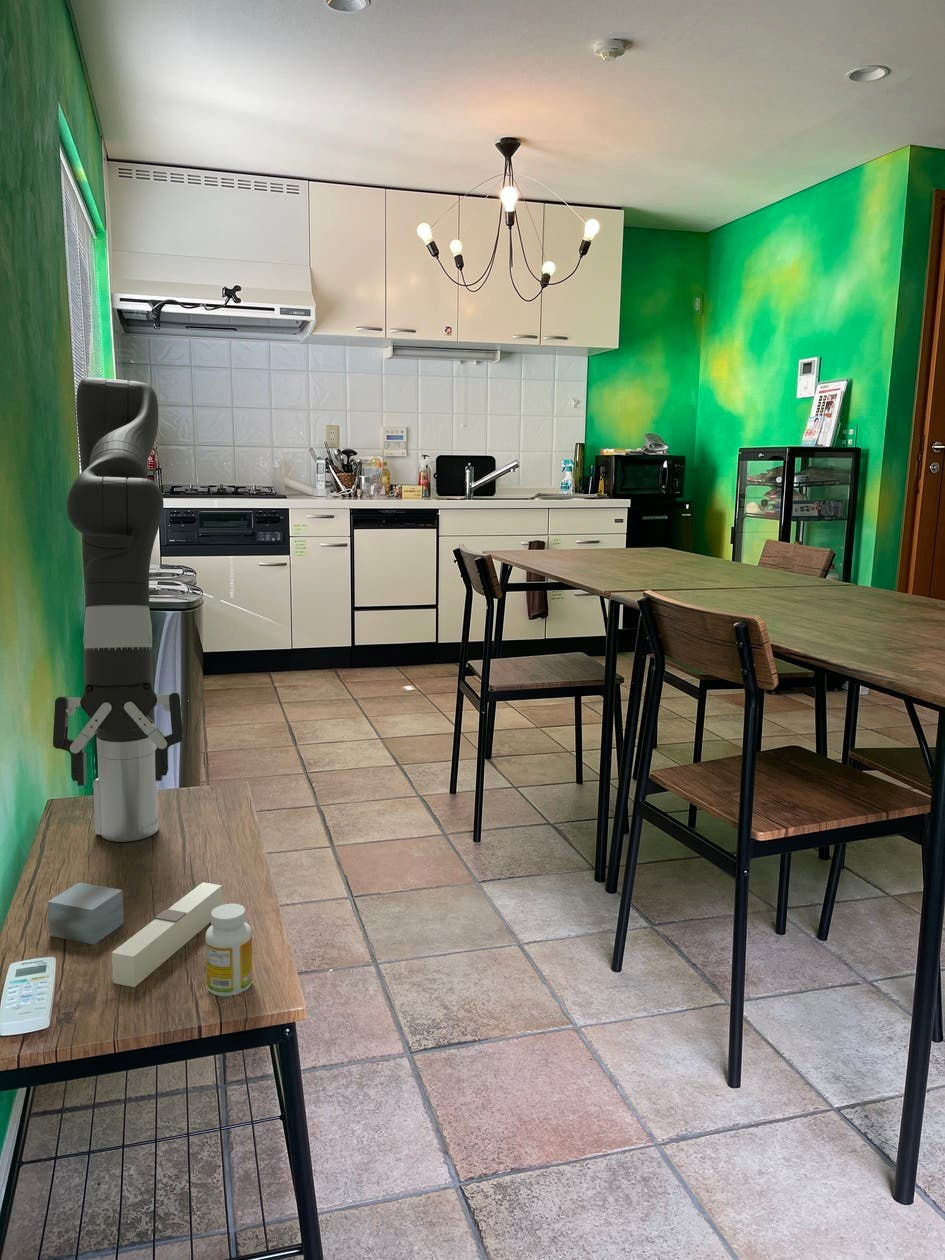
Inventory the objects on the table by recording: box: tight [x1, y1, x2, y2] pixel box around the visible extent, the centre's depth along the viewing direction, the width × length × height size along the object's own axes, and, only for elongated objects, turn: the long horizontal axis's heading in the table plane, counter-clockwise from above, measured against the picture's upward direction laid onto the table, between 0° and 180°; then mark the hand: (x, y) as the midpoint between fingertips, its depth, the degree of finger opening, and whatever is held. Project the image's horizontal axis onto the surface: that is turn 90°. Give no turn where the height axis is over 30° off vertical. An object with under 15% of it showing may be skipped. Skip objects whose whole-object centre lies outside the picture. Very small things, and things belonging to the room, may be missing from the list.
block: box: [47, 882, 125, 945], centre depth 123 cm, size 7×6×5 cm
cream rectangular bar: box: [111, 882, 223, 988], centre depth 120 cm, size 3×20×4 cm, turn 164°
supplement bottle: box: [205, 903, 253, 997], centre depth 110 cm, size 5×5×10 cm
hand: (120, 782), depth 108 cm, fingers open, 8 cm apart
